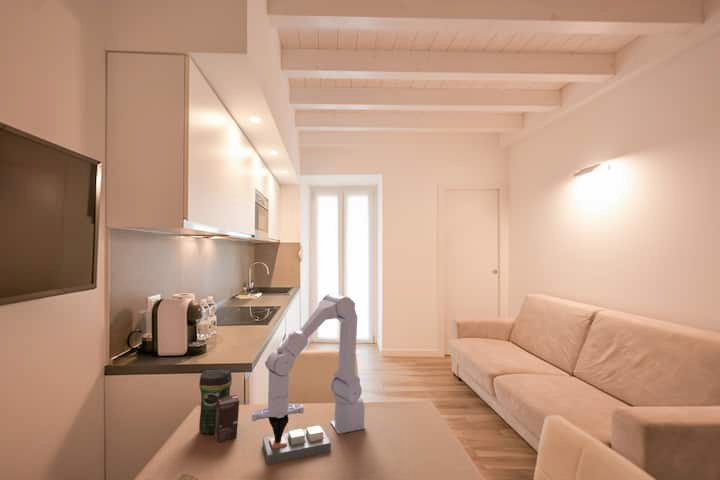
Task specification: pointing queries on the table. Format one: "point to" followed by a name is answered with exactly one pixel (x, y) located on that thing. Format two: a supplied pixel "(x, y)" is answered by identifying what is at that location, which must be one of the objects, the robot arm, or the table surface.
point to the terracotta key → (277, 445)
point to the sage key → (296, 437)
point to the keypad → (295, 448)
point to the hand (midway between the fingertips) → (277, 441)
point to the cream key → (314, 433)
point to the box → (226, 417)
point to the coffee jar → (212, 396)
